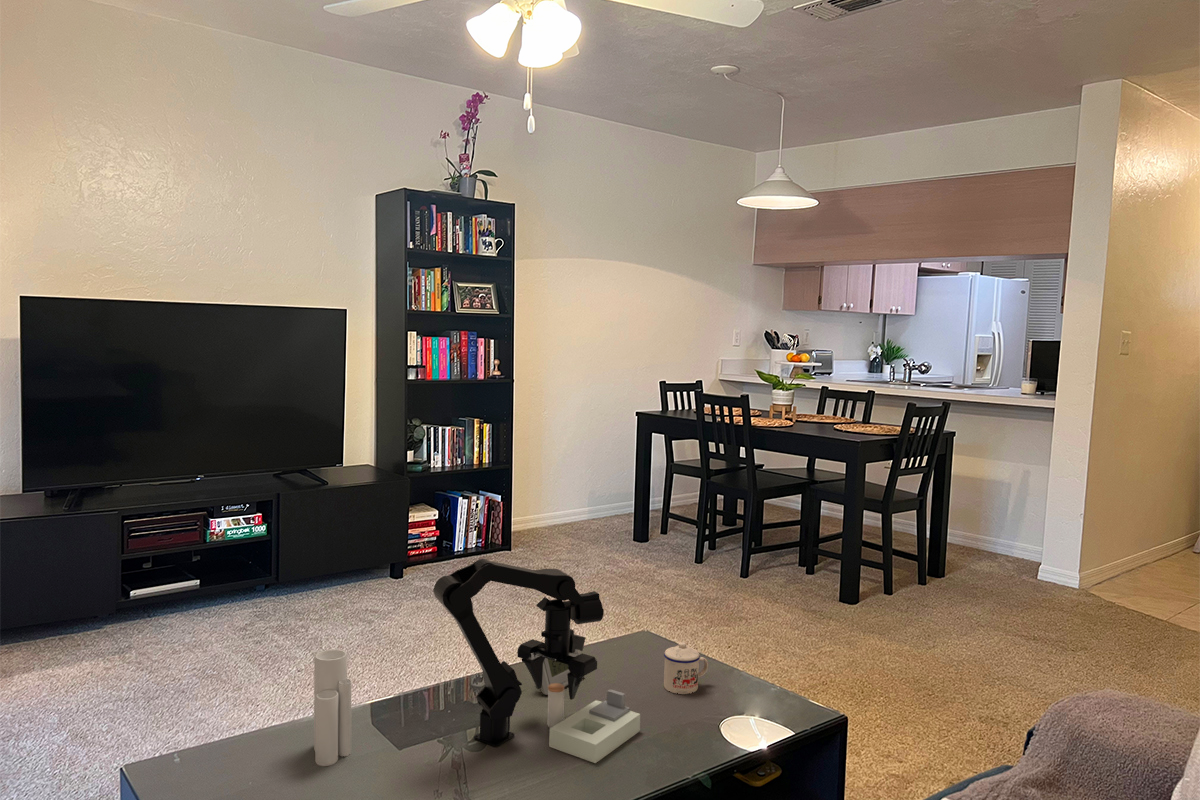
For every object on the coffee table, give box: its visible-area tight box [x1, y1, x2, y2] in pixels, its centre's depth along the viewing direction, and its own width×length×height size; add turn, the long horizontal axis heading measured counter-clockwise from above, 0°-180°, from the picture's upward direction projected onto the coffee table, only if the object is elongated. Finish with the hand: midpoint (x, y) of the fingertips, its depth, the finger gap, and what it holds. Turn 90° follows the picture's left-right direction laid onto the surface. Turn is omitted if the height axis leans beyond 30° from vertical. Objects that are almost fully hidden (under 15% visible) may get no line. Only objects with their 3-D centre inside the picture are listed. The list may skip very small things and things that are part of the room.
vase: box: [313, 648, 352, 767], centre depth 178 cm, size 11×7×20 cm, turn 22°
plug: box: [546, 683, 565, 729], centre depth 194 cm, size 4×4×9 cm
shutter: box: [589, 689, 631, 721], centre depth 192 cm, size 7×7×4 cm
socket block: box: [548, 699, 641, 764], centre depth 188 cm, size 18×12×4 cm, turn 147°
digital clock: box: [540, 649, 581, 696], centre depth 216 cm, size 16×9×11 cm, turn 132°
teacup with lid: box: [663, 641, 709, 695], centre depth 217 cm, size 12×9×12 cm
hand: (555, 693), depth 193 cm, fingers open, 9 cm apart
